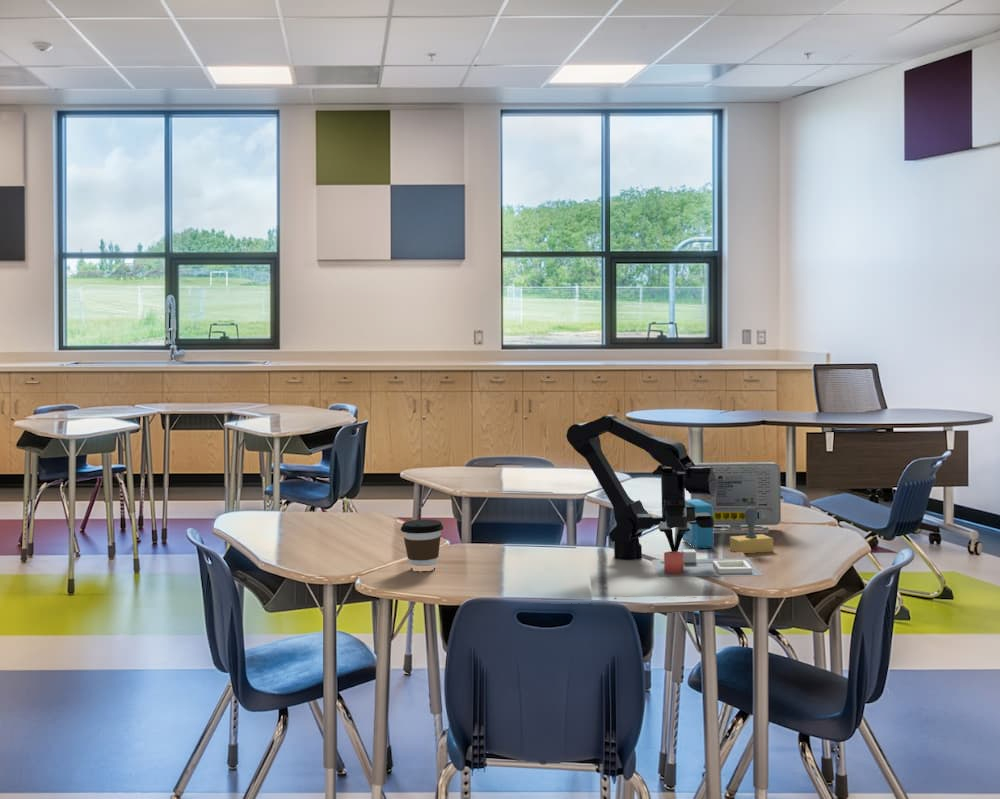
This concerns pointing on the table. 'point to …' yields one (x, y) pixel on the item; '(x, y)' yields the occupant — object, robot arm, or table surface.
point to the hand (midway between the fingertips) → (674, 555)
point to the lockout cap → (673, 563)
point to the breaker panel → (712, 568)
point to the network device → (744, 494)
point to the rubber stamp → (751, 537)
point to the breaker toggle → (689, 556)
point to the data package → (697, 534)
